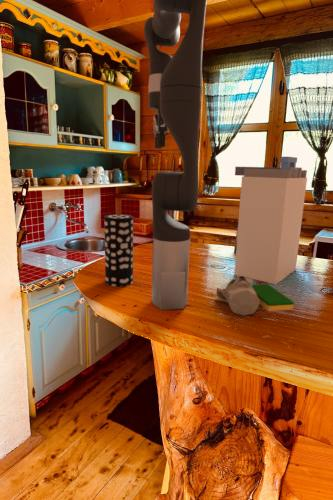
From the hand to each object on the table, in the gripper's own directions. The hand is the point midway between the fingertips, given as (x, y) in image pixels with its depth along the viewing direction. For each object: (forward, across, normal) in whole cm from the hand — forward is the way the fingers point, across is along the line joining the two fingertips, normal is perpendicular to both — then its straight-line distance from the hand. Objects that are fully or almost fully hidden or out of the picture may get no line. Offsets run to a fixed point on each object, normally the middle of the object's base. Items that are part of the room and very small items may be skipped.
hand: (159, 147), depth 107 cm
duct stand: (+40, -6, -37) cm, 55 cm away
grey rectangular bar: (+8, +1, -37) cm, 38 cm away
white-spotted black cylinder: (+40, -13, +13) cm, 44 cm away
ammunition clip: (+40, +20, -40) cm, 60 cm away
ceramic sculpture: (+40, -34, -18) cm, 56 cm away
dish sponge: (+41, -30, -27) cm, 57 cm away
